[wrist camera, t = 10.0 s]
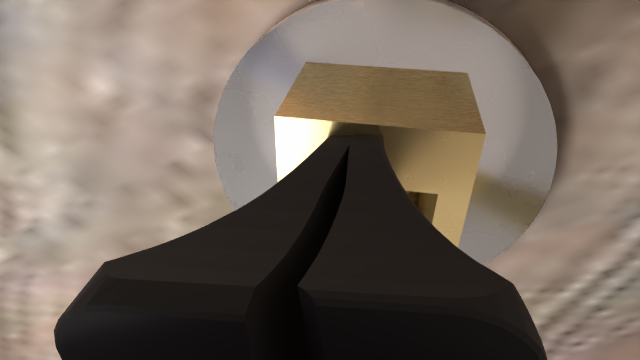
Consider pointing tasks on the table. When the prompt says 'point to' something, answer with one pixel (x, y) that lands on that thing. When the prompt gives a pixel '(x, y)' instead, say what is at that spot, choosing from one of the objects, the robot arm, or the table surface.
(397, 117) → the gold open box
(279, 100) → the hub
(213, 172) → the table surface
